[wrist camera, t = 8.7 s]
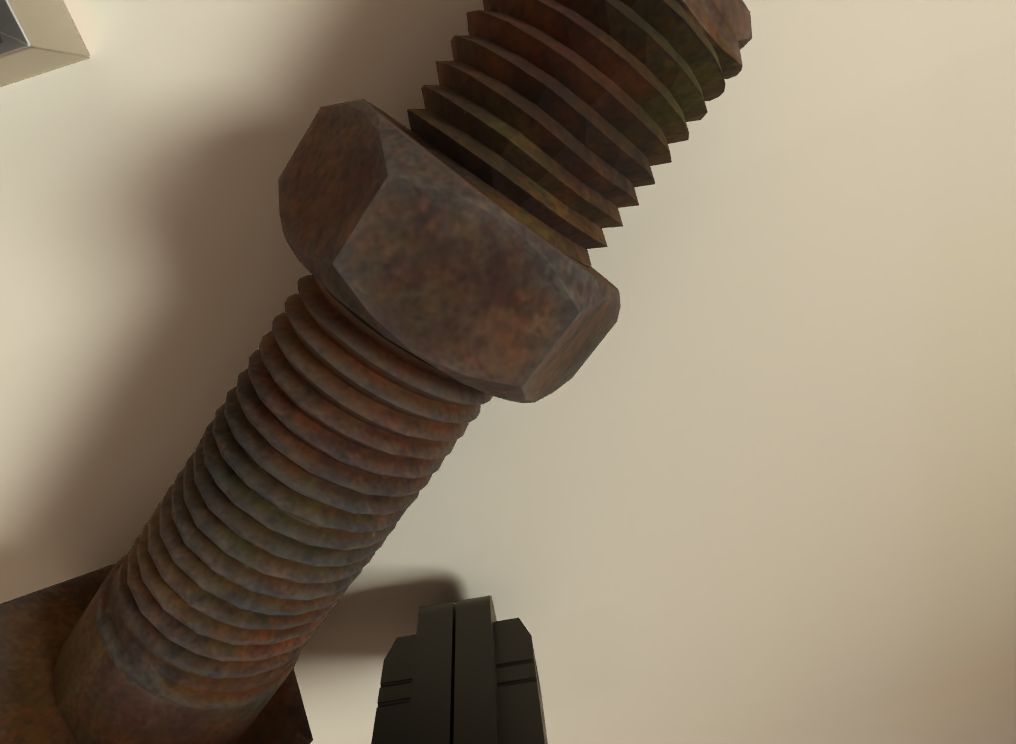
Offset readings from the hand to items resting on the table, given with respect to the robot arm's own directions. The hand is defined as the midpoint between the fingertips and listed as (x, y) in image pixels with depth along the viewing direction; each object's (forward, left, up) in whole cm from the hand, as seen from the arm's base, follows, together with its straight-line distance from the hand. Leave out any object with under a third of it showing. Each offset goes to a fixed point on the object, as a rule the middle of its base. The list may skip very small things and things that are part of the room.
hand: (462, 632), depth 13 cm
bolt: (-6, -1, -1) cm, 6 cm away
